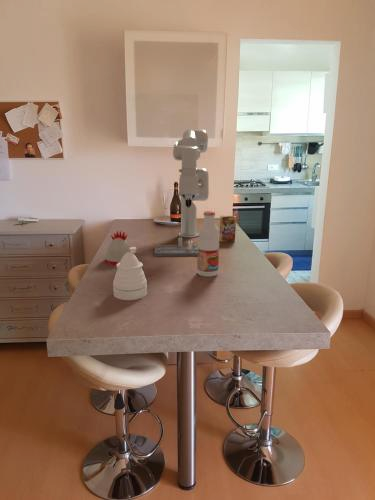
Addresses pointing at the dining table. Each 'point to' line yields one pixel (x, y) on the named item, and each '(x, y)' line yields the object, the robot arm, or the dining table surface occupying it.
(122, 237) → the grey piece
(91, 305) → the dining table surface
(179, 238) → the fader
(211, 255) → the fruit juice
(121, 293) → the honey pot
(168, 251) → the console
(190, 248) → the fader
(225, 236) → the candy box
